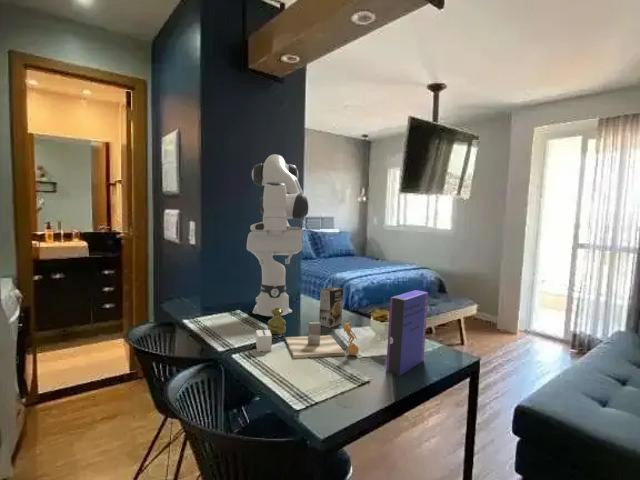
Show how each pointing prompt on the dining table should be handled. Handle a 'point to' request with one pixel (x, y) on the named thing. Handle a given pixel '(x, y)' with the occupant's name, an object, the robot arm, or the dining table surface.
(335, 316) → the coffee box
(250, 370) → the dining table surface
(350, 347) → the figurine
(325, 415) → the dining table surface
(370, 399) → the dining table surface
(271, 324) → the gold vase
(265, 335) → the keyed cap
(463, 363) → the dining table surface
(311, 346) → the block
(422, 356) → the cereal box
